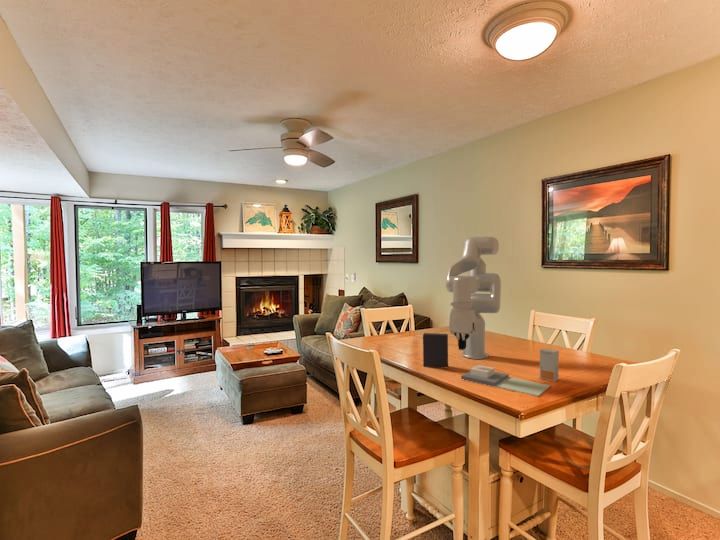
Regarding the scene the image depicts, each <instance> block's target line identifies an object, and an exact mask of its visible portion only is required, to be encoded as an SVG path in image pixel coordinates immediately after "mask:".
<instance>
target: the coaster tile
mask: <svg viewBox="0 0 720 540" xmlns="http://www.w3.org/2000/svg"><path fill="white" fill-rule="evenodd" d="M470 371H471V375H474V376H479V377H484V378H489V377H490V376H492V375H494V372H495V367H490V366H485V365H479V364H478V365H476V366H473V367H472V368H470Z"/></svg>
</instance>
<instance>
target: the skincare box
mask: <svg viewBox="0 0 720 540" xmlns="http://www.w3.org/2000/svg"><path fill="white" fill-rule="evenodd" d="M559 355H560V353H559V350H558V349H552V348H544V347H543V348H541V349H540V350H539V379H541V380H546V381H550V382H556V381H558V380H559V357H560V356H559Z"/></svg>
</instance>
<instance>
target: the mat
mask: <svg viewBox="0 0 720 540" xmlns="http://www.w3.org/2000/svg"><path fill="white" fill-rule="evenodd" d="M497 387H499V388H498V389H502V388H503V389H502V390H506V389H509V390H508V391H511V390H513V391H512V392H516V391H518V392H517V393H520V392H522V393H521V394H525V393H526V394H525V395H529V394H530V396H534V395H535V397H540V396H541V395H542V394H543V393H544V392H546V391H547V390H548V389H549V388H550V387H551V385H549V384H545V383H540V382H536V381H530V380H525V379H519V378H514V377H510V376H509V377H508V378H506V379H505V380H503V381H502V382H500V383H498V384H497V385H495V387H494V388H497Z"/></svg>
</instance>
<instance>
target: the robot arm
mask: <svg viewBox="0 0 720 540" xmlns="http://www.w3.org/2000/svg"><path fill="white" fill-rule="evenodd" d="M498 240H499V239H497V238H496V237H493V236H473V237H468V238H467V239H466V240H464V241H463V248H462V252H461V256H460V257H461V258H460V259H459V260H457V261H456V262H455V263H454V264H452V265H451V267H450V268H449V269H448V272H447V276H446V281H445V288H446V291H448V292H449V293H452V294H453V295H452V297H453V298H452V299H453V300H452V302H450V306H452V308H451V309H450V313H449V320H448V331H450V333H449V334H451V335H453V336H454V337H456V340H457V346H458V351H462V353H461V355H462V357H464V358H467V359H472V360H483V359H484V360H485V359H487V358H488V357H489V353H487V352H486V321H485V319H484V317H483V316H482V315H481V314H497V313H499V312H500V308H501V294H502V293H501V290H502V287H501V286H502V284H501V283H502V280H501V277H500V275H499V274H498V273H495V272H494V273H493V272H491V273H490V272H488V273H487V272H486V271H487V270H486V269H487V264H486V262H485V261H484V260H483V258H482V257H481V256H484V255H486V256H489V255H490V256H491V255H497V254H498V252H499V250H500V244H499V241H498ZM467 272H468V275H461V274H464V273H467ZM477 292H478V293H477ZM479 292H480V293H479Z"/></svg>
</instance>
